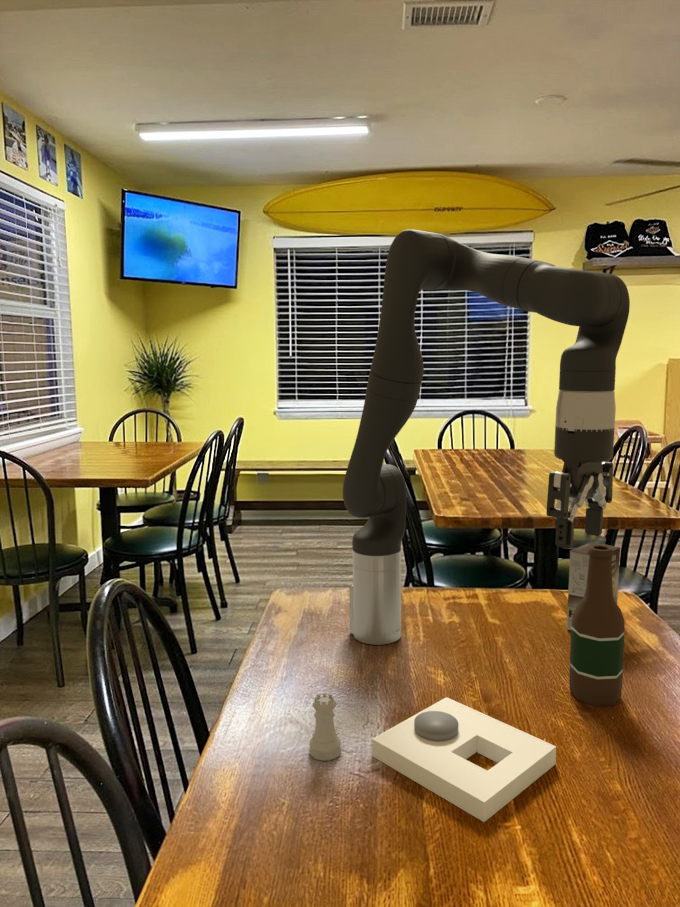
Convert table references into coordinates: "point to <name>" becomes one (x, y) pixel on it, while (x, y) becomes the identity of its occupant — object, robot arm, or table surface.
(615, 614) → the beer bottle
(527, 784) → the carrier plate
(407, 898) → the table surface
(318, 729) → the rook chess piece
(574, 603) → the coffee box
